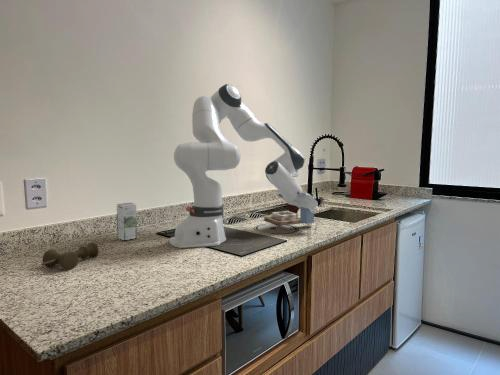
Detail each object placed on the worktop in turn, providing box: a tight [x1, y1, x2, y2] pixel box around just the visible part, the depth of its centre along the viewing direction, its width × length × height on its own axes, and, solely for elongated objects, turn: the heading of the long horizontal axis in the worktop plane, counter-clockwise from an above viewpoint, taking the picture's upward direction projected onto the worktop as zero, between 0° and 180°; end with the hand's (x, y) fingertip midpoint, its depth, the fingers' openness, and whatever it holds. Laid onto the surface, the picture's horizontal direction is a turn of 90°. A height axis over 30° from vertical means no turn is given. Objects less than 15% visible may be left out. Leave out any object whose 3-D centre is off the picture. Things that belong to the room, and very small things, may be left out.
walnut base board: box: [263, 210, 303, 226], centre depth 189 cm, size 15×15×4 cm
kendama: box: [41, 242, 99, 272], centre depth 121 cm, size 6×10×20 cm
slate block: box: [299, 207, 315, 225], centre depth 176 cm, size 4×4×10 cm
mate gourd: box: [286, 203, 300, 214], centre depth 207 cm, size 8×8×15 cm
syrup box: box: [116, 202, 138, 241], centre depth 152 cm, size 6×6×14 cm
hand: (308, 210), depth 176 cm, fingers closed on slate block, 4 cm apart
